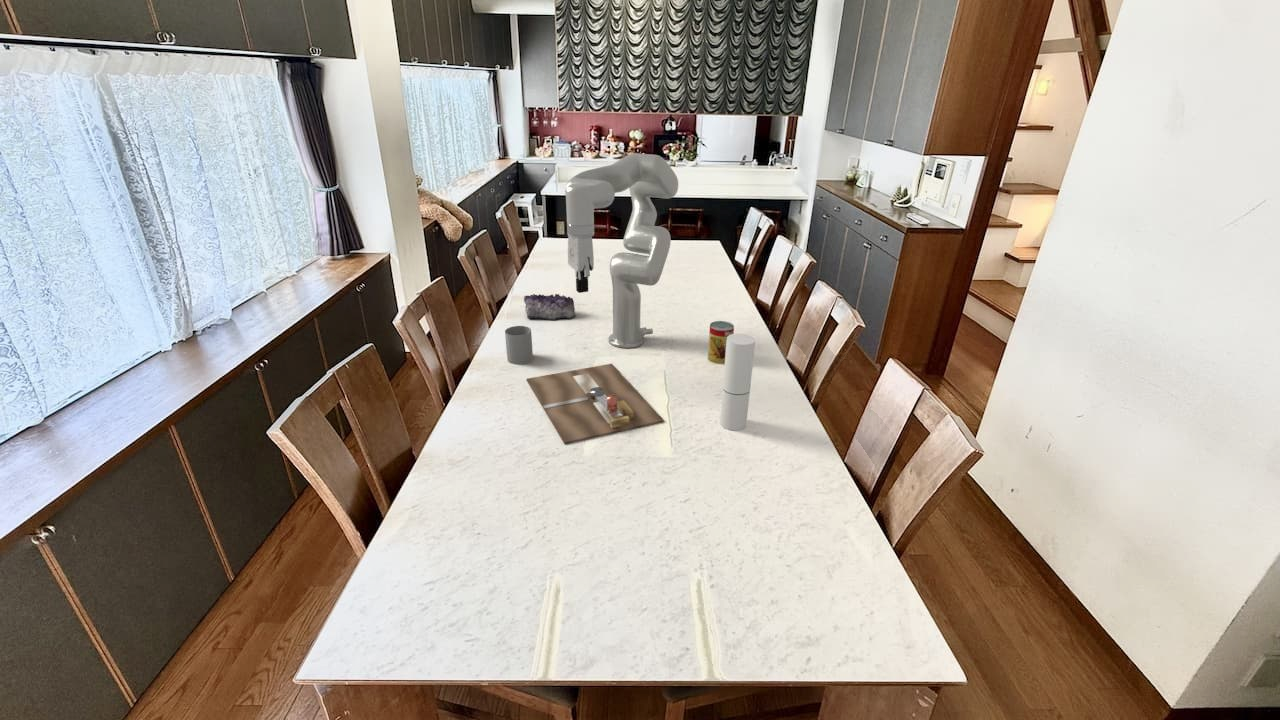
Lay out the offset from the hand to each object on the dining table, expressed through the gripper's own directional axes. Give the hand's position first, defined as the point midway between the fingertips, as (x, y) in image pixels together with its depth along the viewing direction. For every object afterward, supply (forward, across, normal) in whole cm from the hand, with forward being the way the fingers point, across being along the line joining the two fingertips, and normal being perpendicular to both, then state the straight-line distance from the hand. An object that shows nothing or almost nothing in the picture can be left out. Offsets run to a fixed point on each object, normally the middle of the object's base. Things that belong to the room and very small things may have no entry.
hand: (582, 291), depth 177 cm
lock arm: (+26, +23, -2) cm, 35 cm away
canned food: (+27, +7, +45) cm, 53 cm away
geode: (+28, -52, +4) cm, 59 cm away
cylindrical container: (+27, +44, +27) cm, 58 cm away
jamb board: (+27, +17, -4) cm, 32 cm away
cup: (+27, -18, -16) cm, 36 cm away
